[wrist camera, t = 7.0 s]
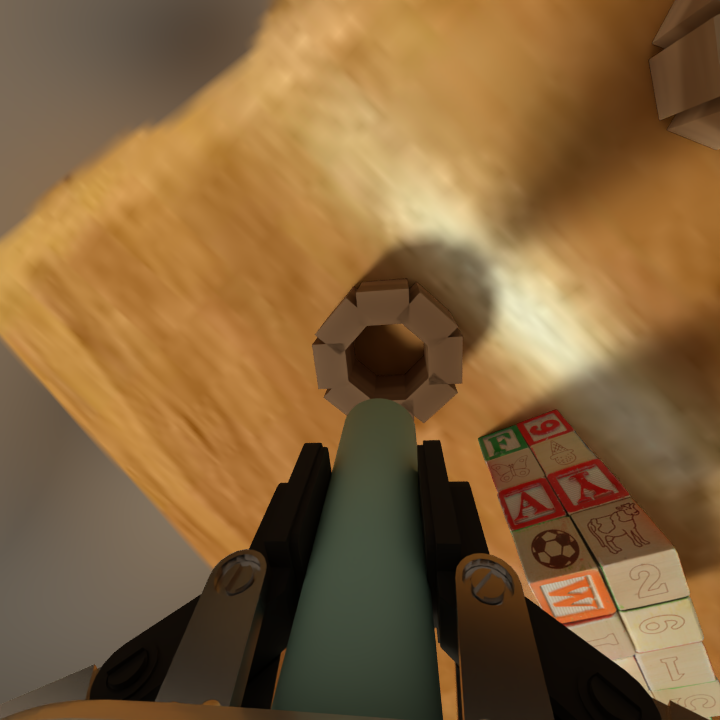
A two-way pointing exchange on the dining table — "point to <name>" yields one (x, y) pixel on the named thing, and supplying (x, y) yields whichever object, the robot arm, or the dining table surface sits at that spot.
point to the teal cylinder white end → (366, 584)
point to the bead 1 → (381, 307)
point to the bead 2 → (689, 70)
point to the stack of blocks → (600, 560)
